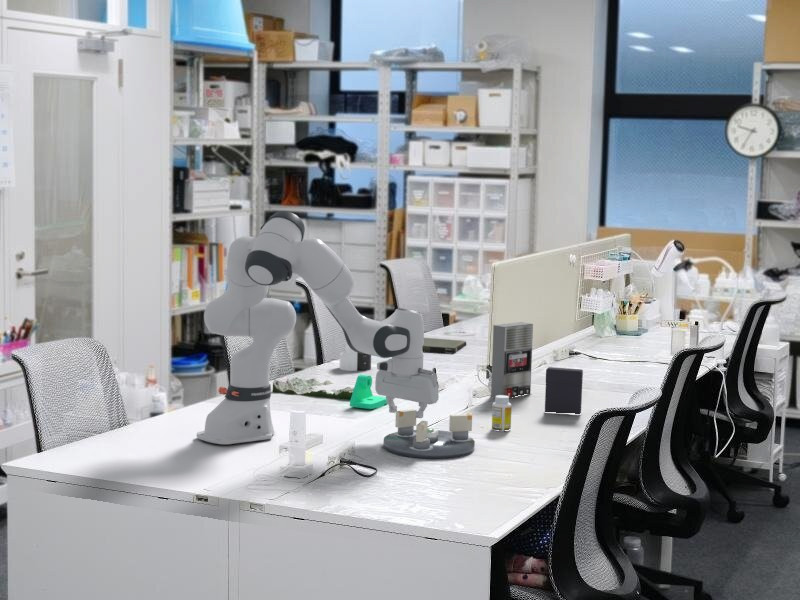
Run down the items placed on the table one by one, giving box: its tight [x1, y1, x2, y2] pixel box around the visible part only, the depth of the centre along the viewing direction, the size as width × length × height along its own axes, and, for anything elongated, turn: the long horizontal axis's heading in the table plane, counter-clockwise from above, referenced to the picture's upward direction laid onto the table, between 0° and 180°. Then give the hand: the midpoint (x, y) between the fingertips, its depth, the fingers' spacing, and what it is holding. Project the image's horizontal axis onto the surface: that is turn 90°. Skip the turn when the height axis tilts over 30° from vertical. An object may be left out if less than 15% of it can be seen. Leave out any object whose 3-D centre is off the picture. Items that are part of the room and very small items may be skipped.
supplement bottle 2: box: [491, 395, 512, 431], centre depth 345 cm, size 6×6×10 cm
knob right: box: [448, 413, 473, 440], centre depth 325 cm, size 6×4×6 cm
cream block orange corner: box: [395, 408, 418, 435], centre depth 329 cm, size 6×4×6 cm
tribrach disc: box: [382, 427, 475, 460], centre depth 323 cm, size 25×25×5 cm
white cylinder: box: [339, 340, 357, 372], centre depth 432 cm, size 9×9×12 cm
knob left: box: [413, 420, 430, 449], centre depth 314 cm, size 6×4×6 cm
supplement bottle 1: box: [356, 353, 372, 372], centre depth 432 cm, size 7×7×12 cm
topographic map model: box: [272, 377, 354, 401], centre depth 402 cm, size 36×29×5 cm
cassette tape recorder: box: [490, 321, 534, 399], centre depth 389 cm, size 14×6×25 cm, turn 131°
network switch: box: [422, 337, 467, 355], centre depth 478 cm, size 23×24×5 cm
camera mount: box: [349, 374, 388, 410], centre depth 372 cm, size 12×8×10 cm, turn 152°
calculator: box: [544, 366, 584, 414], centre depth 366 cm, size 11×4×15 cm, turn 74°
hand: (406, 415), depth 329 cm, fingers open, 8 cm apart
